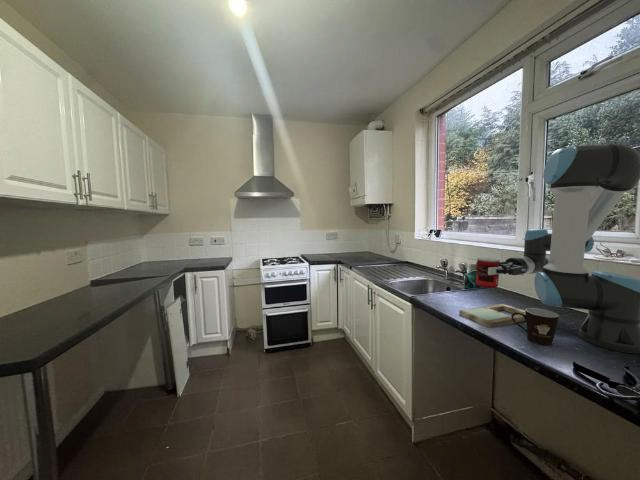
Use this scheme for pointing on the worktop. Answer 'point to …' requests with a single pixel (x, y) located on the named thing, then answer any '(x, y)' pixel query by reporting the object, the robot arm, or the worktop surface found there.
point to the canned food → (482, 272)
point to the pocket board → (493, 315)
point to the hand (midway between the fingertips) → (479, 269)
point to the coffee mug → (539, 325)
